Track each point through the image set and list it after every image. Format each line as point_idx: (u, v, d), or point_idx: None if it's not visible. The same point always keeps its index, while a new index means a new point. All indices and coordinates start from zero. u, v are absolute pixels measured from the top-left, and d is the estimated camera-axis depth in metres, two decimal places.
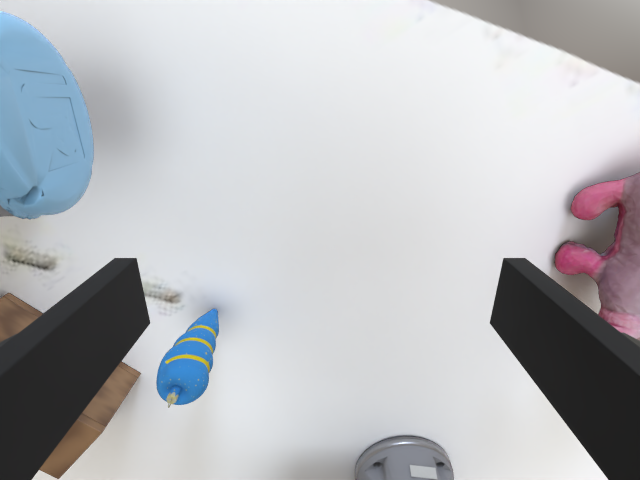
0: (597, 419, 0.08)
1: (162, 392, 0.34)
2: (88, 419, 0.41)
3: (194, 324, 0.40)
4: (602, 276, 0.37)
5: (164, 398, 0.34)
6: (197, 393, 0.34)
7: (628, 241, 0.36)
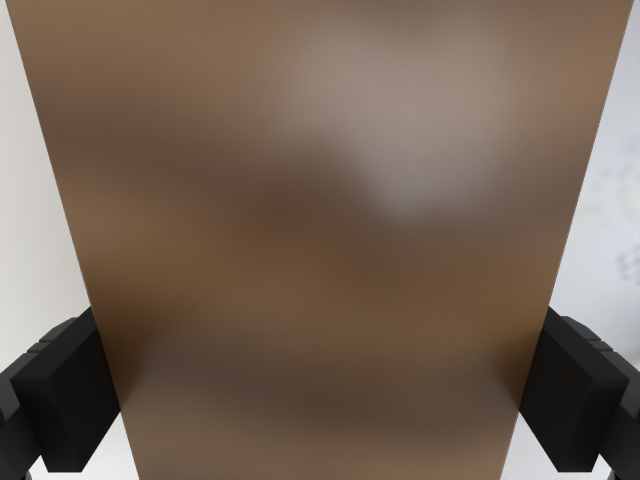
0: (535, 394, 0.09)
1: None
2: None
3: None
4: None
5: None
6: None
7: None
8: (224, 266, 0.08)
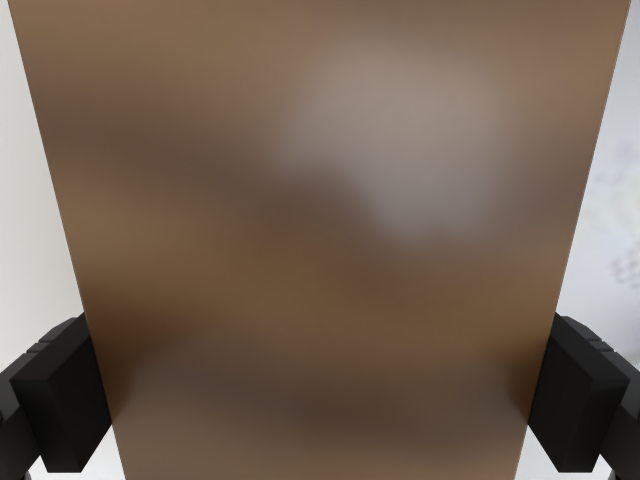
0: (535, 394, 0.09)
1: None
2: None
3: None
4: None
5: None
6: None
7: None
8: (221, 265, 0.08)
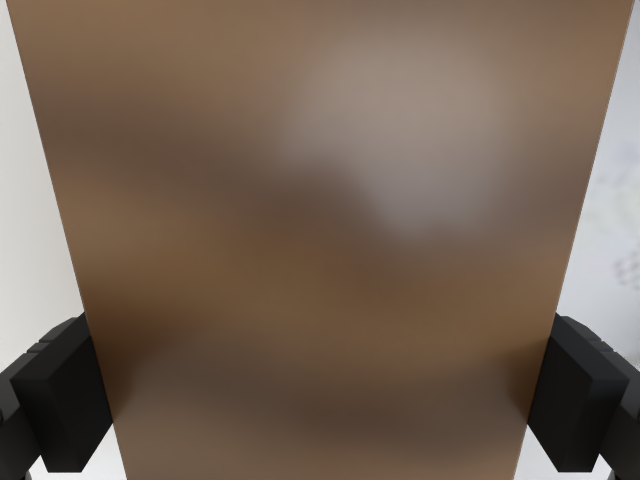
0: (535, 394, 0.09)
1: None
2: None
3: None
4: None
5: None
6: None
7: None
8: (221, 266, 0.08)
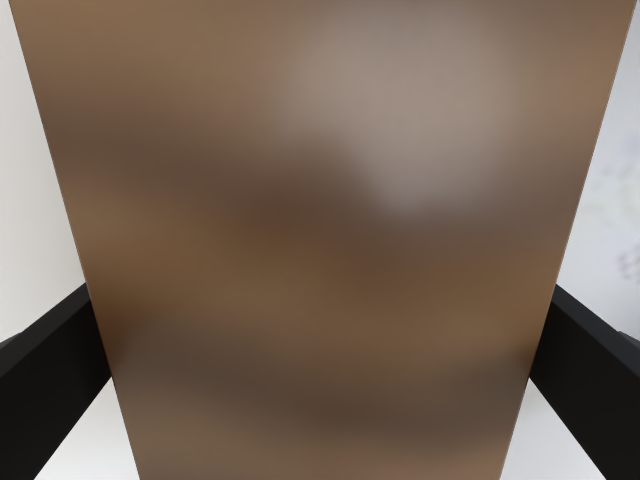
0: (593, 417, 0.08)
1: None
2: None
3: None
4: None
5: None
6: None
7: None
8: (226, 270, 0.08)
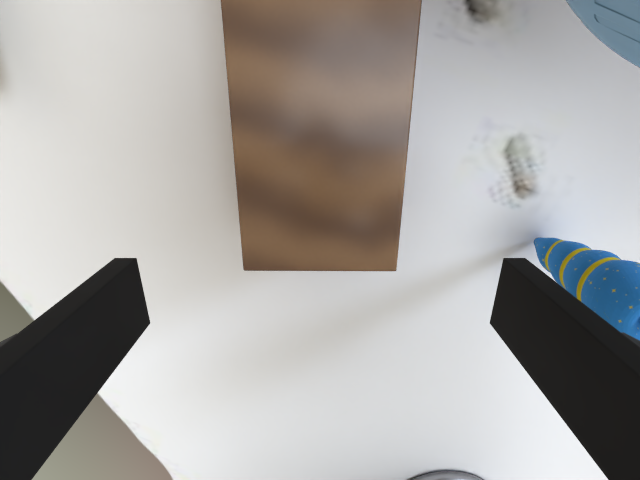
0: (597, 419, 0.08)
1: None
2: None
3: (587, 246, 0.29)
4: None
5: (631, 318, 0.22)
6: None
7: None
8: (286, 160, 0.22)
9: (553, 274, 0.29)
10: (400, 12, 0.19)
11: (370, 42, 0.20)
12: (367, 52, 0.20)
